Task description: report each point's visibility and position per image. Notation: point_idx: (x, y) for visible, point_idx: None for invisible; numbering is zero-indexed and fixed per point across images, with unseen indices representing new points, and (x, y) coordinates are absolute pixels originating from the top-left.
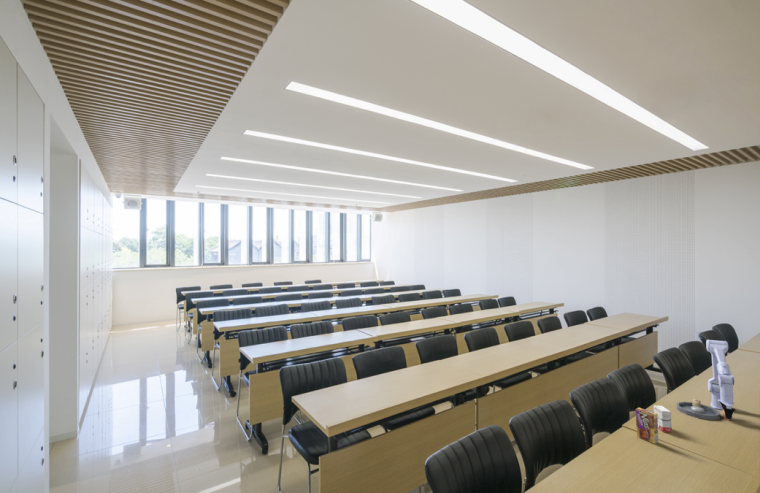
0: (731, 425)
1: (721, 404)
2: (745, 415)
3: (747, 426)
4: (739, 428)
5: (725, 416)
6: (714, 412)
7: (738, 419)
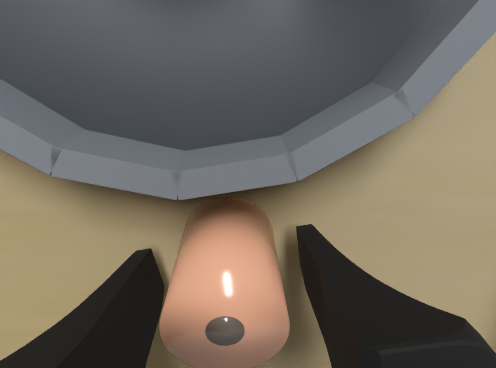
0: (21, 273)
1: (345, 329)
2: (491, 340)
3: (148, 362)
4: (6, 325)
5: (179, 246)
6: (335, 104)
7: (307, 307)
